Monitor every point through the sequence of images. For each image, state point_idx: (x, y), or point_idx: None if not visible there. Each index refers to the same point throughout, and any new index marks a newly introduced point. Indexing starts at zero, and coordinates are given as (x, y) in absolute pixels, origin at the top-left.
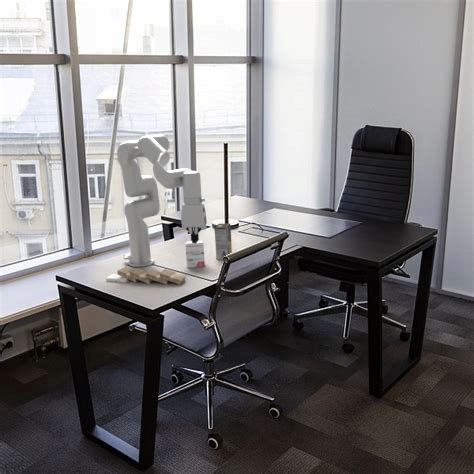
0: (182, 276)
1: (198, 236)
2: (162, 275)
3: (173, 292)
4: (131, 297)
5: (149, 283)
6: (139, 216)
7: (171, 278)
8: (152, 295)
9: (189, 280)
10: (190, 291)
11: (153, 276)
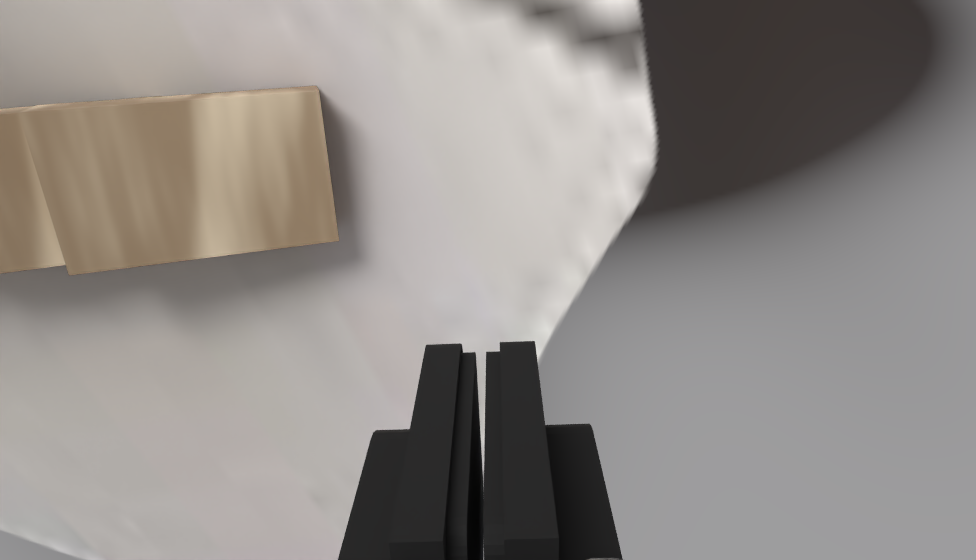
0: (296, 132)
1: (607, 498)
2: (110, 265)
3: (366, 401)
4: (101, 530)
5: None
6: None
7: (225, 251)
8: (232, 477)
9: (370, 82)
10: None
11: (17, 268)
